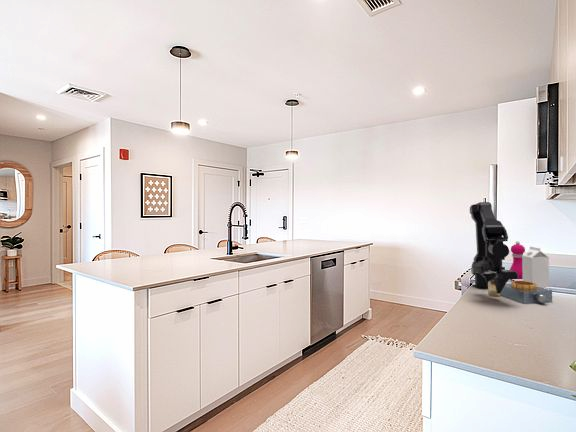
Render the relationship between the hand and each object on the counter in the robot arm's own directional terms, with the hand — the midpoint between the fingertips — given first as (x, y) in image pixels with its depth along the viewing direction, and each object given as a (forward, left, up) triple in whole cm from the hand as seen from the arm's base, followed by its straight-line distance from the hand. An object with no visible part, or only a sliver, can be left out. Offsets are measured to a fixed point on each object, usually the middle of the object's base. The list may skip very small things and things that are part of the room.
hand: (494, 291), depth 135 cm
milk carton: (-12, +29, -4) cm, 32 cm away
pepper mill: (-28, +34, -4) cm, 44 cm away
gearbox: (+1, +13, -3) cm, 14 cm away
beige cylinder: (0, 0, -2) cm, 2 cm away
